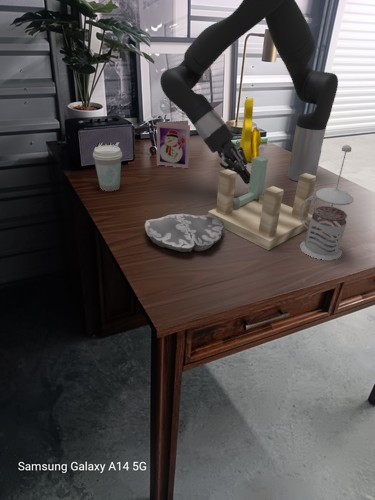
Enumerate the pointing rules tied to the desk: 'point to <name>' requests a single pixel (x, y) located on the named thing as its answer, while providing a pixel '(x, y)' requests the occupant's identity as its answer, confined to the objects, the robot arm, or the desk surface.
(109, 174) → the coffee cup
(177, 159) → the greeting card
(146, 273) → the desk surface
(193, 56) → the robot arm
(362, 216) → the desk surface
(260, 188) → the hinged leg
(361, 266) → the desk surface
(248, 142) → the figure statuette
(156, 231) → the brain slice
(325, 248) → the french press
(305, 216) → the stool seat
